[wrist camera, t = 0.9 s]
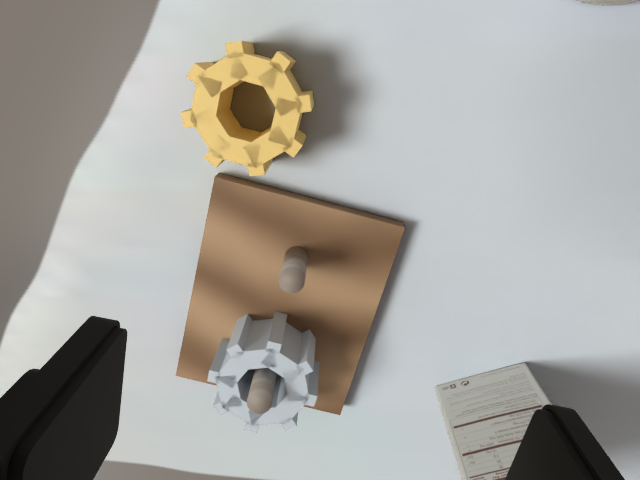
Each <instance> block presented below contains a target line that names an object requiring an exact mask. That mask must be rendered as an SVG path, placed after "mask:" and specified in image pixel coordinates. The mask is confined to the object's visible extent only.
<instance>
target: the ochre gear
mask: <svg viewBox="0 0 640 480" xmlns="http://www.w3.org/2000/svg"><path fill="white" fill-rule="evenodd" d="M225 45H226V51H227V56H226V57H225V58H223V59H222V60H220V61H218V62H217V63H215V64H214V63H213V62H203V63H195V64H194V65H193V67H192V68H191V70H190V72H189V73H188V75H187V76H186V77H188V78H189V79H190V80H192V81H193V82H194V83H196V87H195V93H194V99H193V105H192V108H191V109H188V110H185V111H183V112H181V117H182V121H183V126H184V128H189V127H195V128H196V129H197V131H198V132H199V134H200V135H201V137H202V139H203V140H204V142H205V143H206V145H207V146H208V148H209V149H210V150H209V151H208V153H207V154H206V156H205V157H204V159H205V160H207V161H208V162H210V163H211V164H212V165H214V166H215V167H216V168H217V167H218V166H219V165H220V164H221V163H222V162H223V161H224V160H228V161H232V162H235V163H239V164H243V165H246V166H248V170H249V176H257V175H265V173H266V171H267V170H268V168H269V166H270V165H271V163H272V161H273V160H272V158H274V157H275V156H277V155H279V154H281V153H282V152H284V151H285V152H286V153H288V154H289V155H290V156H292V157H293V158H294V157H295V155H296V154H297V153H298V151H299V150H300V149H301V147H302V146H303V144H304V141H305V138H306V136H307V135H306V134H304V133H303V132H302V131H300V130H299V126H300V122H301V118H302V114H303V112H310V111H312V109H313V107H314V98H313V91H312V90H310V91H303V92H302V90H301V88H300V86H299V85H298V83H297V81H296V79H295V77H294V76H293V74H292V72H291V70H290V69H291V68H292V66H293V65H294V64H295V62H296V61H295V60H294V59H293V58H292V57H290V56H289V55H288V54H287V53H286V52H282V51H277V52H276V54H275V55H274V57H273V58H268V57H265V56H261V55H258V54H255V52H254V46H253V43H251V42H245V41H237V42H230V43H225ZM245 81H246V82H249V83H253V84H256V85H260V86H263V87H264V89H265V90H266V92H267V94H268V95H269V97H270V99H271V100H272V102H273V104H274V106H275V107H276V109H275V113H274V118H273V122H272V126H271V127H269V128H267V129H266V130H264V131H262V132H258V131H254V130H251V129H247V128H243V127H241V126H240V124H239V123H238V121H237V119H236V118H235V116H234V114H233V113H232V111H231V110H230V106H231V101H232V96H233V91H234V88H235V87H237V86H238V85H240V84H241V83H243V82H245Z"/></svg>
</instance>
